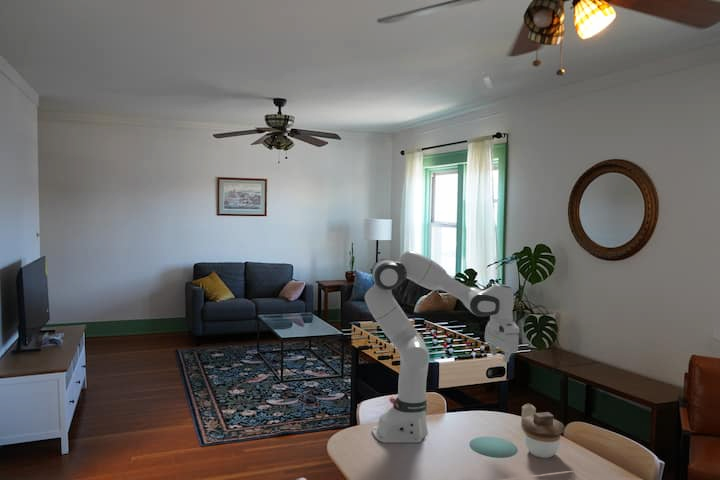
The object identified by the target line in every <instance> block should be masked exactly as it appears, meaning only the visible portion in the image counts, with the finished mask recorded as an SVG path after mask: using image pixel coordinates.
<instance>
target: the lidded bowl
mask: <svg viewBox="0 0 720 480" xmlns="http://www.w3.org/2000/svg"><path fill="white" fill-rule="evenodd" d="M561 434H562V433H561ZM561 434H557V435H545V434H539V433H535V432H532V431H530V430H528V429H526V428H524V440H525V445H526V448H527V450H528V452H530V453H531V454H532V455H533V456H534V457H537V458H542V459H549V458H551V457H553V456H555V455H556V453H557V452H558V450H559V446H560V443H561Z"/></svg>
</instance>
